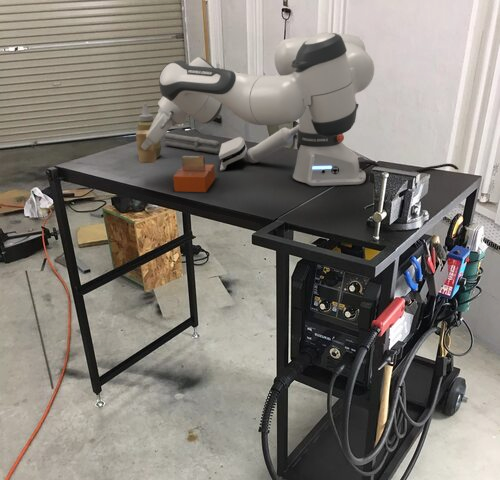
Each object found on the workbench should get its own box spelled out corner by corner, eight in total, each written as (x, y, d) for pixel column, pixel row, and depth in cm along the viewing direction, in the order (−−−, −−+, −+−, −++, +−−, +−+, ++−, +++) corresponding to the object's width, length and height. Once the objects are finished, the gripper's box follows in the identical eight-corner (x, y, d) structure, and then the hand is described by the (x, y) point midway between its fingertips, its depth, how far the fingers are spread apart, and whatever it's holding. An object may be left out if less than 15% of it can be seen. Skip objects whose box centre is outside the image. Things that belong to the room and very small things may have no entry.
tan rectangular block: (183, 170, 162) (181, 156, 159) (184, 169, 163) (183, 154, 161) (204, 171, 161) (203, 156, 158) (205, 169, 162) (204, 155, 160)
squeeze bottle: (163, 154, 196) (157, 101, 187) (161, 160, 190) (155, 105, 180) (141, 154, 196) (134, 102, 187) (138, 160, 189) (131, 106, 180)
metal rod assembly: (164, 146, 206) (163, 133, 203) (169, 145, 208) (168, 131, 205) (216, 155, 193) (215, 141, 190) (221, 153, 194) (220, 139, 192)
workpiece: (156, 158, 164) (153, 130, 159) (155, 162, 160) (151, 133, 156) (141, 159, 164) (137, 130, 159) (139, 163, 160) (135, 134, 155)
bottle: (258, 157, 184) (314, 125, 167) (253, 166, 182) (309, 134, 164) (249, 146, 182) (304, 111, 164) (243, 155, 179) (299, 121, 162)
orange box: (184, 178, 170) (182, 163, 168) (217, 179, 169) (216, 164, 166) (172, 191, 160) (171, 175, 157) (207, 192, 158) (206, 176, 155)
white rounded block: (220, 171, 176) (248, 159, 173) (214, 158, 173) (242, 145, 171) (223, 158, 190) (249, 147, 187) (217, 145, 187) (244, 133, 185)
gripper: (179, 124, 147) (148, 162, 152) (183, 110, 164) (155, 144, 169) (161, 108, 144) (130, 146, 150) (167, 95, 162) (139, 130, 167)
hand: (144, 145), depth 160 cm, fingers closed on workpiece, 4 cm apart
